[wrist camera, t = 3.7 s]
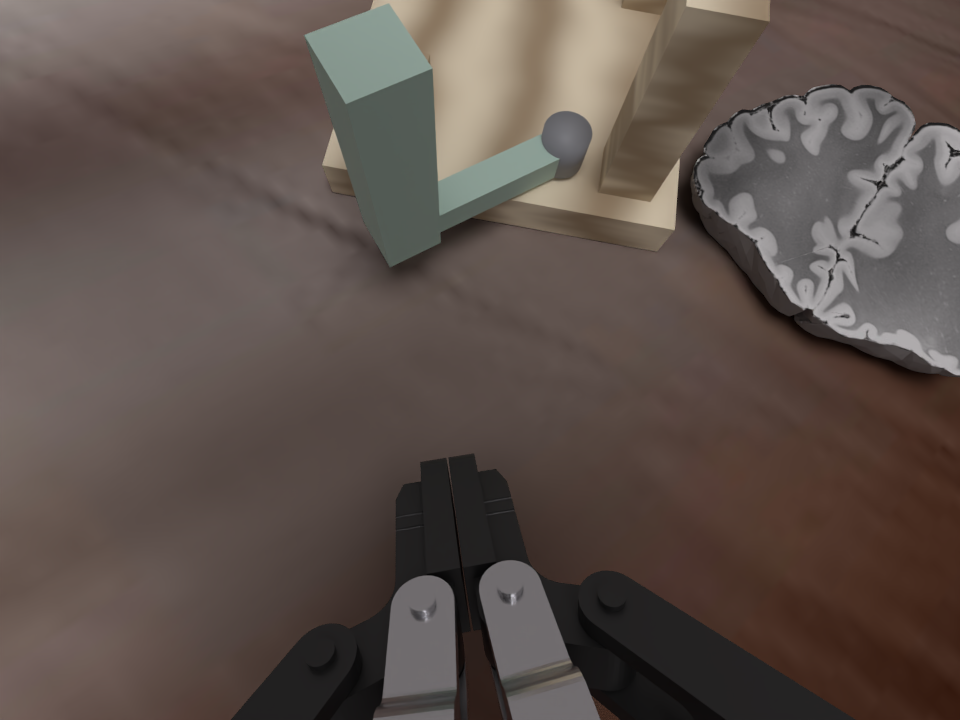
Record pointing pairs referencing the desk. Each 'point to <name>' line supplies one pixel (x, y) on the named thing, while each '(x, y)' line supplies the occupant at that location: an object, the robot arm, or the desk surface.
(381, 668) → the robot arm
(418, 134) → the hinged leg
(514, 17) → the stool seat
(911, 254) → the brain slice
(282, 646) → the desk surface
